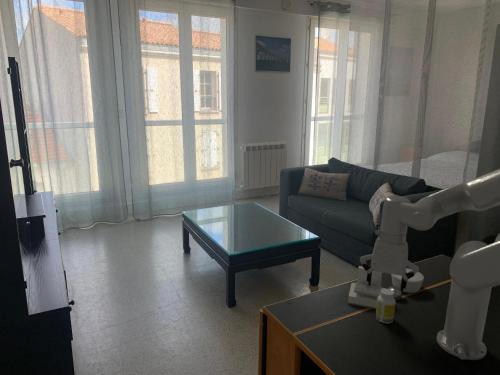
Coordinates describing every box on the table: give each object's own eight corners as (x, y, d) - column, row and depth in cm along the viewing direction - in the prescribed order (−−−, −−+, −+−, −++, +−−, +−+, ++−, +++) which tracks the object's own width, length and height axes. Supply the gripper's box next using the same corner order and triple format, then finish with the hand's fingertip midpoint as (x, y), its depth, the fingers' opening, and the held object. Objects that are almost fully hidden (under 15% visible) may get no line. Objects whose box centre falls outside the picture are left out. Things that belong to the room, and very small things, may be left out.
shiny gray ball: (401, 301, 132) (402, 293, 131) (387, 298, 134) (388, 291, 133) (400, 294, 136) (401, 287, 135) (388, 292, 138) (388, 285, 137)
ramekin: (383, 283, 144) (384, 271, 143) (404, 277, 149) (405, 265, 148) (407, 297, 134) (409, 284, 133) (428, 290, 139) (430, 277, 138)
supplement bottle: (396, 318, 121) (399, 291, 119) (389, 326, 118) (392, 298, 115) (379, 312, 125) (382, 285, 123) (372, 319, 121) (375, 291, 119)
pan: (380, 299, 126) (381, 295, 126) (353, 294, 129) (354, 290, 129) (381, 290, 132) (381, 285, 132) (355, 286, 135) (356, 281, 135)
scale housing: (385, 311, 126) (388, 283, 123) (347, 303, 130) (349, 277, 127) (385, 296, 135) (388, 270, 132) (350, 289, 139) (352, 264, 137)
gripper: (362, 236, 114) (356, 286, 118) (424, 246, 108) (415, 298, 113) (364, 227, 121) (358, 275, 125) (422, 236, 115) (414, 286, 119)
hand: (385, 286), depth 119 cm, fingers open, 9 cm apart
